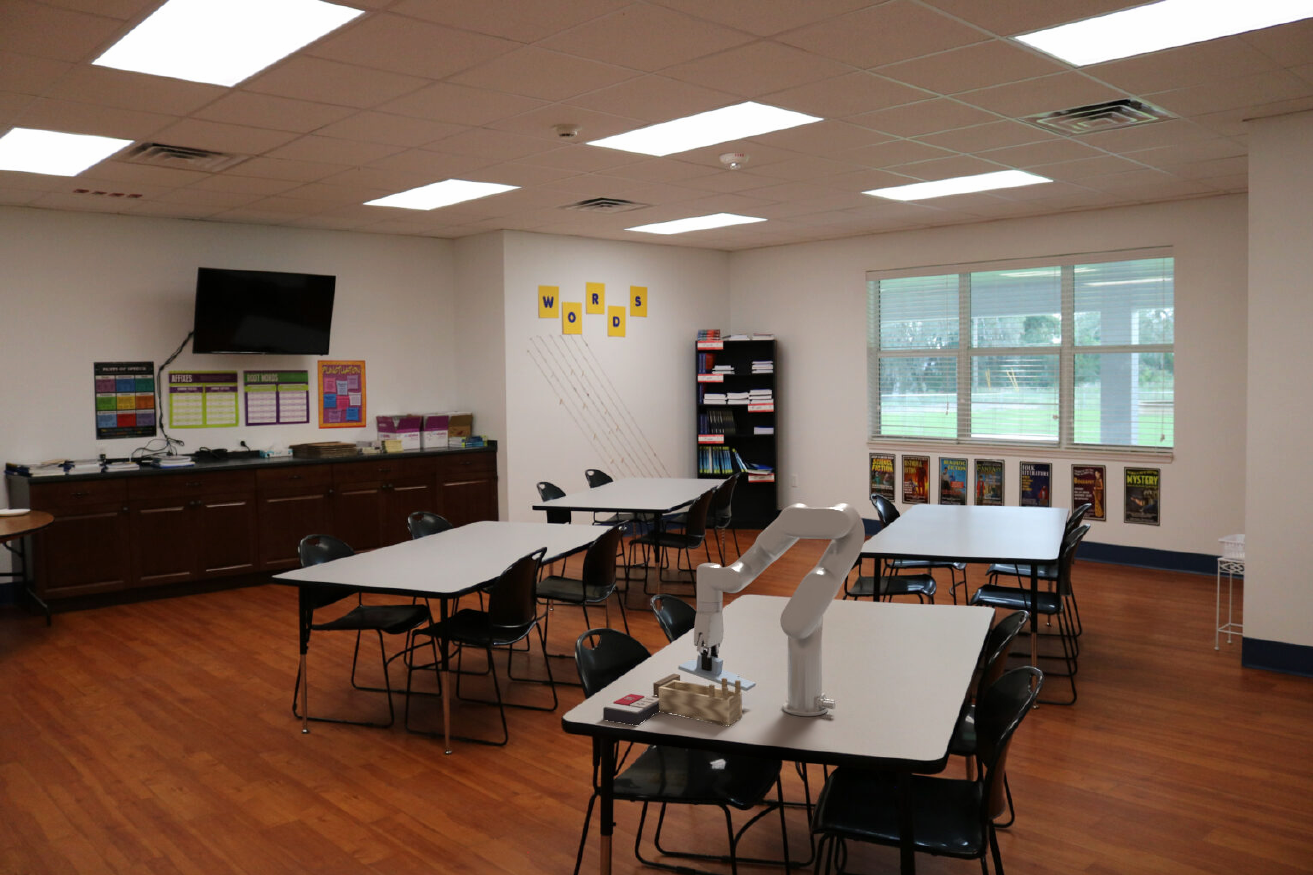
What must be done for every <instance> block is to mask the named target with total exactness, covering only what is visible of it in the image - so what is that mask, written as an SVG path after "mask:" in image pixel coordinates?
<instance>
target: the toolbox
mask: <svg viewBox="0 0 1313 875" xmlns="http://www.w3.org/2000/svg"><path fill="white" fill-rule="evenodd" d="M741 691H742V690H741V681H739V680H736V681H735V687H734V690H731V689H729V687H728V685H727V678H722V685H721V688H720V687H715V685H714V684H709V685H703V684H698V683H691V682H687V681H681V680H680V681H677V680H673V681H671V682H669V683H667V684H665V685H663V686H661V687H659V697H658V698H659V711H660V712H659V713H661V712H664V713H663V714H666V713H672V714H677V715H681V716H685V717H689V718H688V719H690V718H693V719H692V720H694V719H699V720H703V721H702V722H704V721H707V722H706V723H709V722H712V723H711V724H714V723H716V724H715V725H720V726H723V725H727V726H726V727H729V726H731V725H733V724H734V723H735V722H734V721H736V720H737V719H739V720H740V719H742V718H743V698H742V696H743V695H742V694H743V693H742V692H741ZM685 717H684V718H685ZM741 717H742V718H741ZM699 720H698V721H699ZM737 721H738V720H737ZM737 721H736V722H737ZM733 722H734V723H733ZM732 723H733V724H732ZM730 724H731V725H730ZM728 725H729V726H728Z"/></svg>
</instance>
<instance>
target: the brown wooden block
mask: <svg viewBox="0 0 1313 875" xmlns="http://www.w3.org/2000/svg"><path fill="white" fill-rule="evenodd" d="M673 680H677V681H681V674H679V673H678V674H676V673H672V674H670V675H667V676H665V677H664V678H661V679H659V680H657V681H655V682H653V684H652V686H653V688H652V689H653V695H657V696H659V687H661V686H663V685H665V684H667V683H669V682H671V681H673ZM657 696H656V697H657Z"/></svg>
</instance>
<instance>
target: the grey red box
mask: <svg viewBox="0 0 1313 875" xmlns="http://www.w3.org/2000/svg"><path fill="white" fill-rule="evenodd" d="M658 712H659V697H655V696H653V697H652V696H645V695H641V694H635V693H630V694H629V693H628V694H627V695H625V696H623V697H621V698H619V699H616V700H615V701H613V702H612V703H610V704H607V705H606V706H605V707H603V713H602V715H603V716H602V717H603V719H604V720H608V721H607V722H610V721H614V722H613V723H616V722H621V723H625V724H624V725H627V724H631V725H630V726H633V725H639V724H640V723H641V722H643V721H644V720H645V719H647V720H649V719H650V718H652V717H653V716H652V715H653V714H655V713H657V714H659V713H660V712H659V713H658ZM651 716H652V717H651ZM648 718H649V719H648ZM603 719H602V720H603ZM604 720H603V721H604ZM645 721H646V720H645ZM621 723H620V724H621ZM643 723H644V722H643ZM632 724H633V725H632ZM640 725H641V724H640ZM640 725H639V726H640Z"/></svg>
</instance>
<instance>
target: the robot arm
mask: <svg viewBox="0 0 1313 875" xmlns="http://www.w3.org/2000/svg"><path fill="white" fill-rule="evenodd" d="M800 539H804V540H805V539H806V540H809V539H811V540H812V539H813V540H818V539H819V540H831V541H830V542H829V544H828V546H826V549H825V551H824V552H823V554H822V556H821V557H820V559H819V560H818V562H817V563H816V565H815V567H813V569H811V570H810V571H809V572H808V573H807V574H806V575H805V576H804V577H803V578H802V580H801V581H800V583H799V584H798V586H797V588H796V589H795V590H794V592H793V594H792V596H791V597H790V599H789V600H788V602H787V603H786V605H785V607H784V609H783V610H782V612H781V614H780V617H779V618H780V623H779V624H780V628H781V630H782V632H783V633H784V635H786V636H787V656H786V657H787V700H785V701H783V702H782V706H781V707H782V710H783V711H784V712H786V713H787V714H790V715H794V716H798V717H799V716H800V717H814V716H815V717H816V716H820V715H823V714H825V713H827V712H828V710H829V709H830V710H835V709H836V702H835V700H834V699H828V698H827V696H826V692H823V657H822V656H823V628H824V627H823V626H824V614H825V613H826V611H827V609H829V608H828V607H829V606H831V603H832V601H833V600H834V599H835V598H836V597H837V595H838V593H839V591H840V589H841V588H842V585H843V583H844V582H845V581H846V578H847V576H848V575H849V573H850V572H851V570H852V568H853V567H854V565H855V563H856V561H857V560H858V558H859V556H860V554H861V552H862V549H863V547H864V543H865V539H866V538H865V525H864V522H863V519H862V517H861V515H860V513H859V512H858V511H857V509H856V508H855V507H854V506H852V505H850V504H849V503H844V502H842V503H841V502H840V503H835V504H833V505H831V506H830V507H809V506H808V505H807V504H804V503H799V502H797V503H792V504H791V505H789V506H786V507H785V508H784V509H782V510H781V512H780V513H779V514H778V516H777V518H776V519H774V520H773V521H772V522H771V523H770V524H769V525H768V526H767V527H766V528H765V529H764V530H763V531H761V532H760V533H759V534H758V535H757V537H756V538H755V542H754V543H753V544H752V546H750V548H748V549H747V550H746V552H745V553H743V554H742V555H741V556H740V557H739V558H738V559H737V560H736V561H734V562H733V563H732V564H730V565H728V566H724V567H722V565H720V563H714V562H704V563H701V564H699V565H697V567H696V613H695V617H694V618H695V619H694V628H693V629H694V630H693V645H694V647H696V652H698V653H699V654H700V656H701V669H702V670H706V671H712V657H710V656H713V657H716V658H719V653H720V647H721V644H722V642H723V640H724V636H725V634H724V629H725V628H724V614H723V610H724V608H723V607H724V606H723V603H724V601H723V599H724V598H723V597H724V595H723V592H724V593H728V594H736V593H739V592H740V591H742V590H743V589H745V587H747V586H748V585H750V584H751V583H752V582H753V581H755V579H756V578H757V577H759V576H760V575H761V574H762V573H763V572H764V571H765V570H766V569H767V568H768V567H769V566H770V565H771V564H772V563H774V562H776V561H777V560H778V559H780V557H782V556H783V555H784V554H785V553H786V552H787V551H788V550H789V549H791V547H792V546H794V545H795V543H797V542H798V541H799V540H800Z"/></svg>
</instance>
